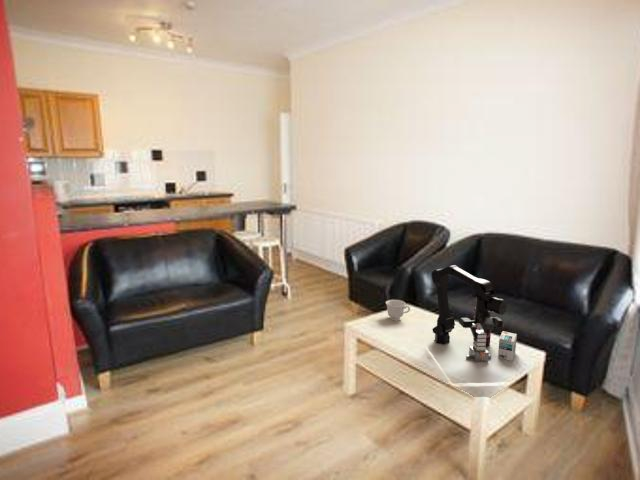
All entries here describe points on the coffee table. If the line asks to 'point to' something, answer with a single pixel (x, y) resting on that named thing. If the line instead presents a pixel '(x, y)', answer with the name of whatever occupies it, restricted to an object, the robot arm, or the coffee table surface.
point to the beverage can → (487, 336)
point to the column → (480, 341)
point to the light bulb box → (507, 345)
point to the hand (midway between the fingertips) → (479, 339)
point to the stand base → (478, 355)
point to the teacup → (396, 309)
